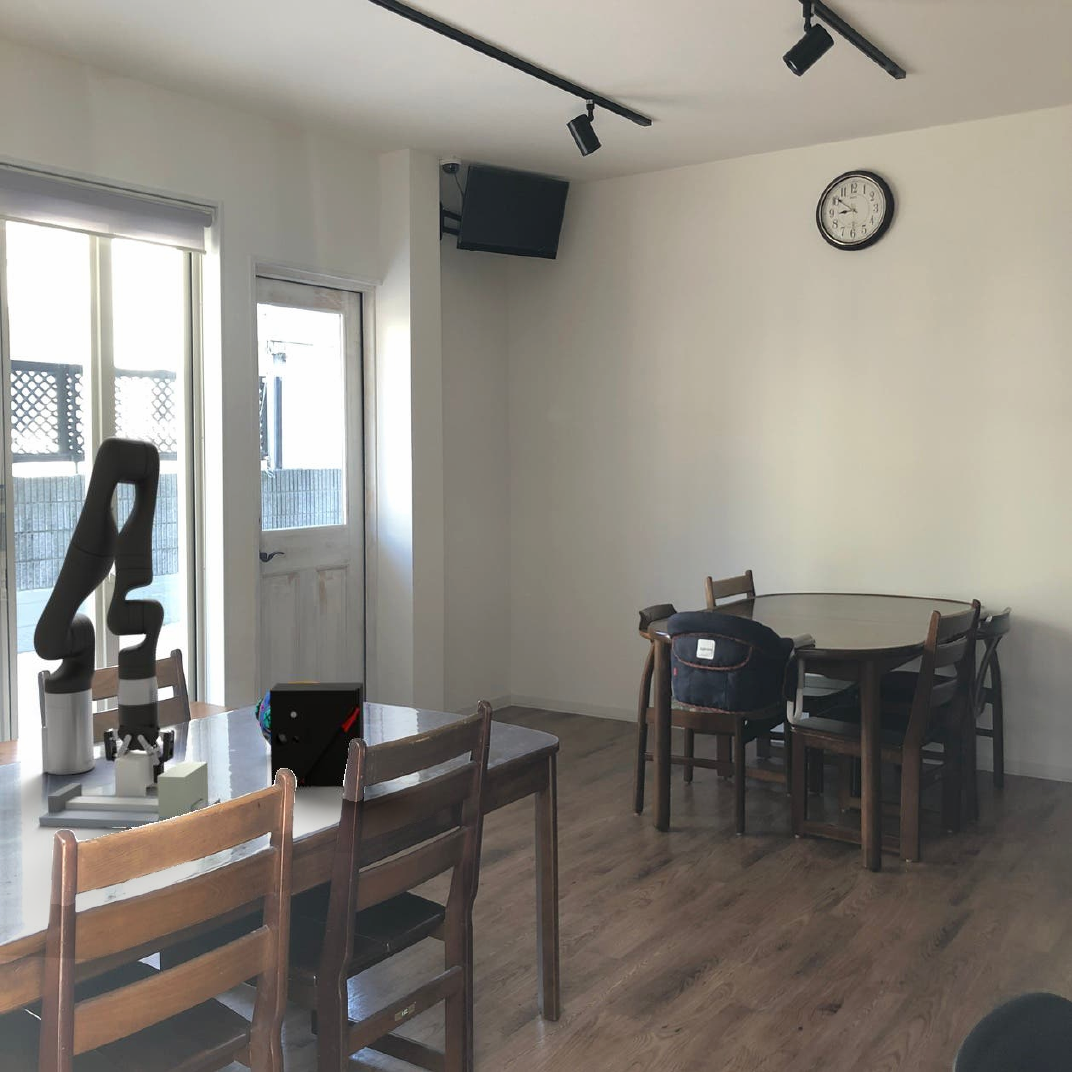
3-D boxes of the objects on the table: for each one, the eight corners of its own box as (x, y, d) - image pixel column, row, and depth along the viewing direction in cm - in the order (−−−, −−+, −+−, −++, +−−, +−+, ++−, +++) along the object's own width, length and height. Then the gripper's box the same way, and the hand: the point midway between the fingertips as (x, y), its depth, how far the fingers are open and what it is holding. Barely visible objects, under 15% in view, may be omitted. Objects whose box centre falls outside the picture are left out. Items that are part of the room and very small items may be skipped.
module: (115, 797, 209) (114, 760, 208) (139, 783, 218) (138, 746, 218) (140, 798, 208) (139, 760, 208) (163, 783, 218) (162, 747, 217)
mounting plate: (39, 825, 192) (37, 776, 192) (80, 801, 206) (79, 755, 206) (188, 830, 189) (187, 780, 189) (220, 806, 203) (219, 759, 203)
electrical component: (365, 774, 224) (364, 680, 223) (359, 789, 214) (358, 690, 213) (281, 775, 223) (279, 681, 222) (270, 790, 213) (269, 691, 212)
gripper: (181, 695, 215) (183, 777, 216) (113, 694, 217) (115, 775, 218) (164, 704, 208) (166, 788, 209) (93, 702, 209) (96, 786, 210)
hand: (140, 781), depth 213 cm, fingers open, 6 cm apart
